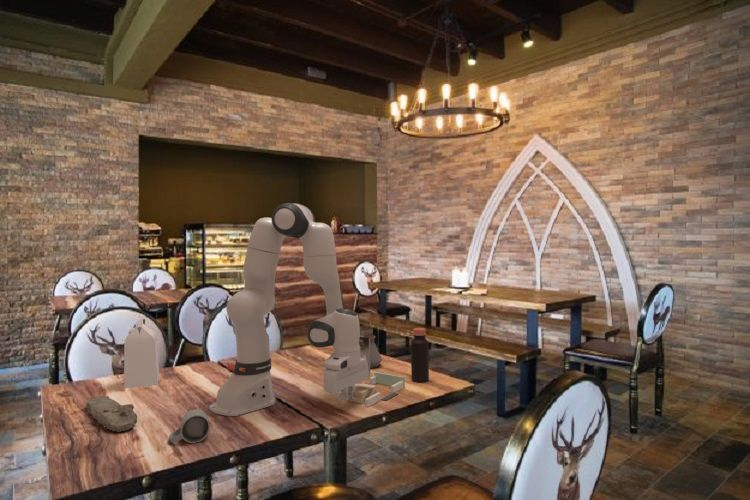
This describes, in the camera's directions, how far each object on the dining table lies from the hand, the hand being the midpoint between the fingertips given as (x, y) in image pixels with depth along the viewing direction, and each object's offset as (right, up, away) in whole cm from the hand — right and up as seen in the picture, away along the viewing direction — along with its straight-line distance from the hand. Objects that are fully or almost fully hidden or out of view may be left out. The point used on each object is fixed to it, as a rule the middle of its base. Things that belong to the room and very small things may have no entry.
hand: (348, 399), depth 159 cm
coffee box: (+2, -1, +36) cm, 36 cm away
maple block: (+5, -2, +7) cm, 9 cm away
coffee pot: (+3, -1, +53) cm, 53 cm away
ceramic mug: (-43, -4, -24) cm, 50 cm away
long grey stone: (-76, -4, -6) cm, 76 cm away
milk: (-82, -3, +27) cm, 86 cm away
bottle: (+27, -1, +27) cm, 38 cm away
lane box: (+8, -2, +12) cm, 14 cm away
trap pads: (+9, -2, +14) cm, 16 cm away
